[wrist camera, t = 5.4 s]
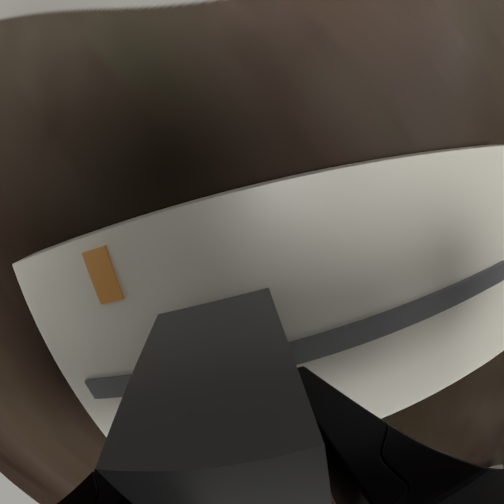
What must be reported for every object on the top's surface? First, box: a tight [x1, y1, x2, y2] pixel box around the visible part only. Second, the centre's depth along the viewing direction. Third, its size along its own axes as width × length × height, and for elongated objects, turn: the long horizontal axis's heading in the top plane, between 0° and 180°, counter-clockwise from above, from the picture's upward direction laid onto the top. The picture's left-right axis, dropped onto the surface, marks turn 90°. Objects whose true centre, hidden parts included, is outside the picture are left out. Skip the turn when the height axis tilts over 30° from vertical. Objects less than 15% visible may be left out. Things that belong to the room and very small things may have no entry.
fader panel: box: [12, 145, 504, 438], centre depth 9 cm, size 19×10×2 cm, turn 104°
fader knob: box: [96, 288, 332, 504], centre depth 6 cm, size 3×5×5 cm, turn 14°
